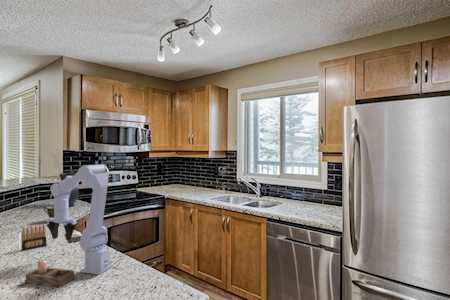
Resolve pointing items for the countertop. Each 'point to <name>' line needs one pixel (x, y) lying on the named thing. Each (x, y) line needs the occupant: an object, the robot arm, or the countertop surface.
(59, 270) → the rack
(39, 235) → the ammunition clip
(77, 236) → the chocolate bar
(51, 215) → the ceramic cup
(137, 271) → the countertop surface
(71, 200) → the pitcher
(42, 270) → the clay rod
